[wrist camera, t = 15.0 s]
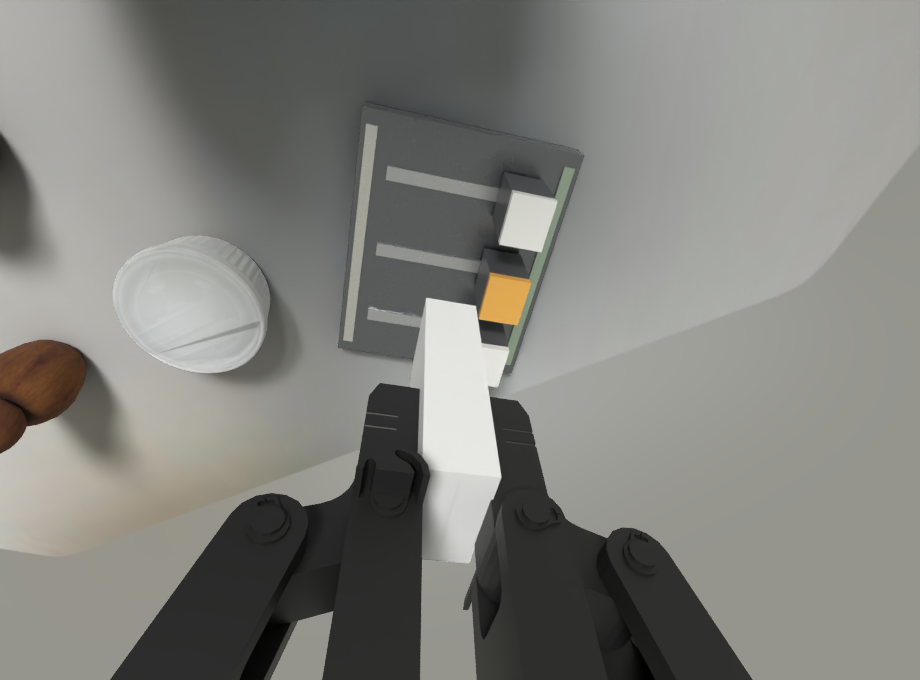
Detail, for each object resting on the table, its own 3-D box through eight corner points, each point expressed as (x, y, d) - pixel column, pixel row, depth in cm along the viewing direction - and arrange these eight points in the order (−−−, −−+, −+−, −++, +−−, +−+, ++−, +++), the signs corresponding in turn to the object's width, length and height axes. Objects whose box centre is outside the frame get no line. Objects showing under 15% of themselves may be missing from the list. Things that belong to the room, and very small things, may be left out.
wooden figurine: (81, 327, 44) (-57, 451, 32) (109, 379, 47) (-7, 510, 35) (4, 332, 44) (-165, 459, 32) (38, 384, 47) (-104, 517, 35)
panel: (341, 335, 46) (337, 349, 44) (365, 102, 35) (361, 106, 34) (508, 360, 48) (511, 374, 47) (577, 149, 38) (584, 156, 36)
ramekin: (243, 360, 47) (224, 396, 43) (123, 294, 43) (87, 326, 38) (306, 277, 43) (291, 307, 38) (179, 194, 39) (146, 217, 34)
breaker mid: (474, 288, 41) (478, 319, 37) (484, 248, 39) (490, 276, 35) (509, 294, 42) (517, 325, 38) (520, 254, 40) (531, 283, 36)
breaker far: (458, 347, 44) (461, 382, 40) (467, 313, 43) (471, 345, 38) (491, 352, 45) (497, 387, 41) (501, 318, 43) (509, 351, 39)
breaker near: (491, 219, 38) (499, 244, 34) (504, 171, 36) (513, 192, 32) (529, 226, 39) (541, 252, 34) (543, 180, 37) (557, 201, 32)
